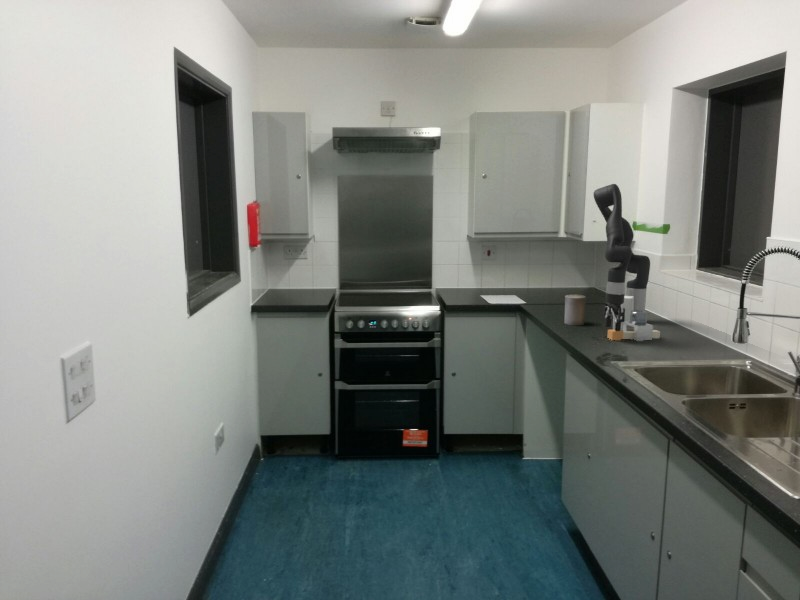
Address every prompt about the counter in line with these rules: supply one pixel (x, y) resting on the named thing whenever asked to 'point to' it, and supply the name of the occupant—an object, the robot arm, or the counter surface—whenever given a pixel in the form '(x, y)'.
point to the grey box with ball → (639, 325)
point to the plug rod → (627, 334)
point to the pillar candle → (575, 309)
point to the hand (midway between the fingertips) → (612, 328)
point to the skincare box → (626, 309)
